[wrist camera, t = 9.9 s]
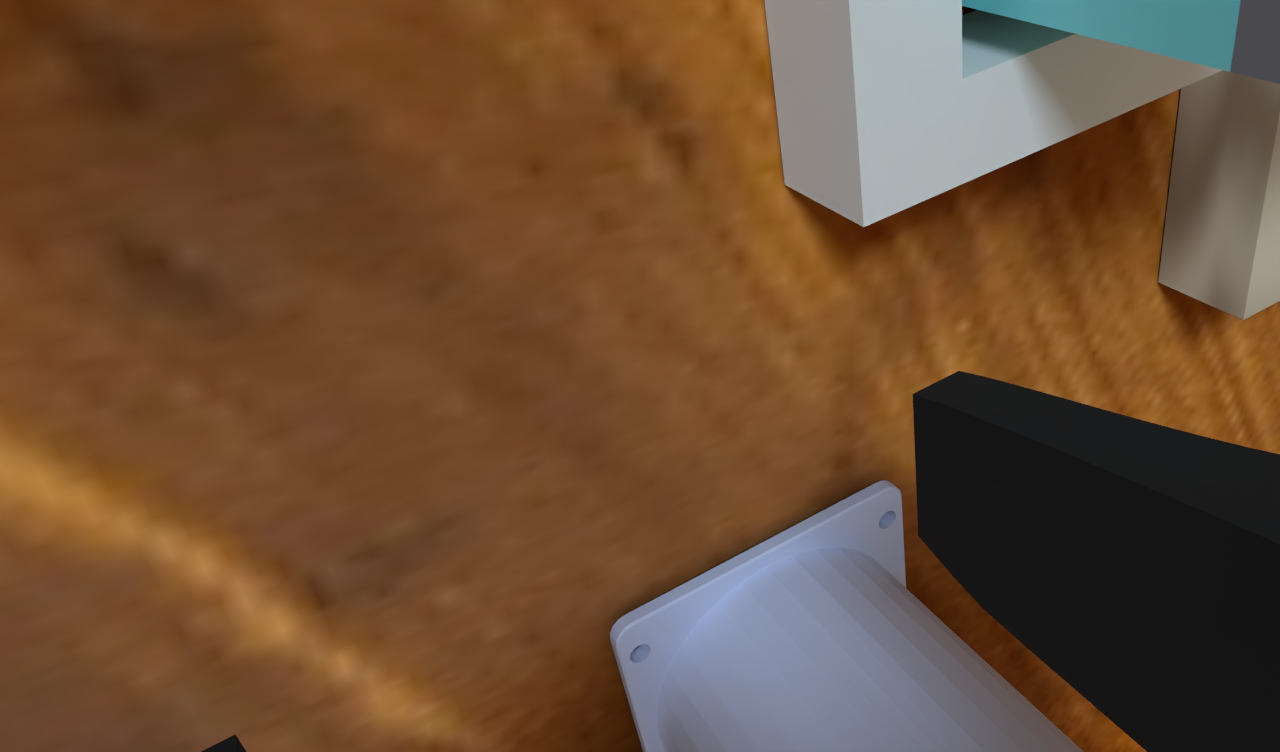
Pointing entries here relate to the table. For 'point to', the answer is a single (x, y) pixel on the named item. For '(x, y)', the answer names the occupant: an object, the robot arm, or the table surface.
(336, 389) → the table surface
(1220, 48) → the plug
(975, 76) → the port block
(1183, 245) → the frame
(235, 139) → the table surface
